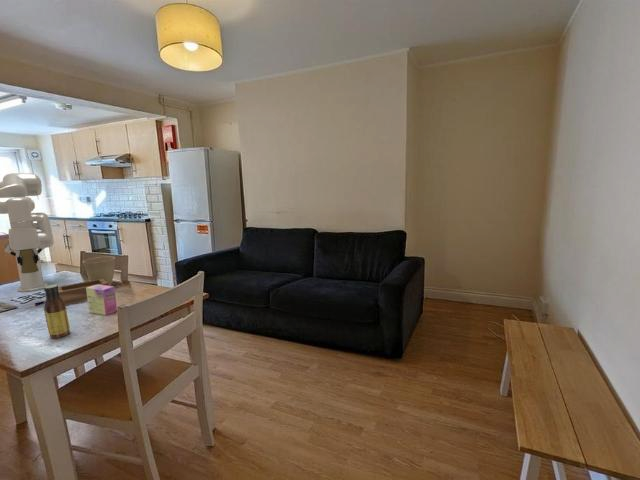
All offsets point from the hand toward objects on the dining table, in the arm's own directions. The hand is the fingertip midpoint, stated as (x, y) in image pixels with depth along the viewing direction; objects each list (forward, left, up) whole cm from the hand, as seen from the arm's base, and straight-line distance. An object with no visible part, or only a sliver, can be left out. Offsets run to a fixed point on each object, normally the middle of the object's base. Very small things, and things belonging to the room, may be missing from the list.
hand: (28, 263), depth 148 cm
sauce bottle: (+47, +4, -21) cm, 52 cm away
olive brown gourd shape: (0, 0, -4) cm, 4 cm away
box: (+32, +21, -21) cm, 44 cm away
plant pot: (-11, +29, -21) cm, 37 cm away
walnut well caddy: (+4, +18, -21) cm, 28 cm away
